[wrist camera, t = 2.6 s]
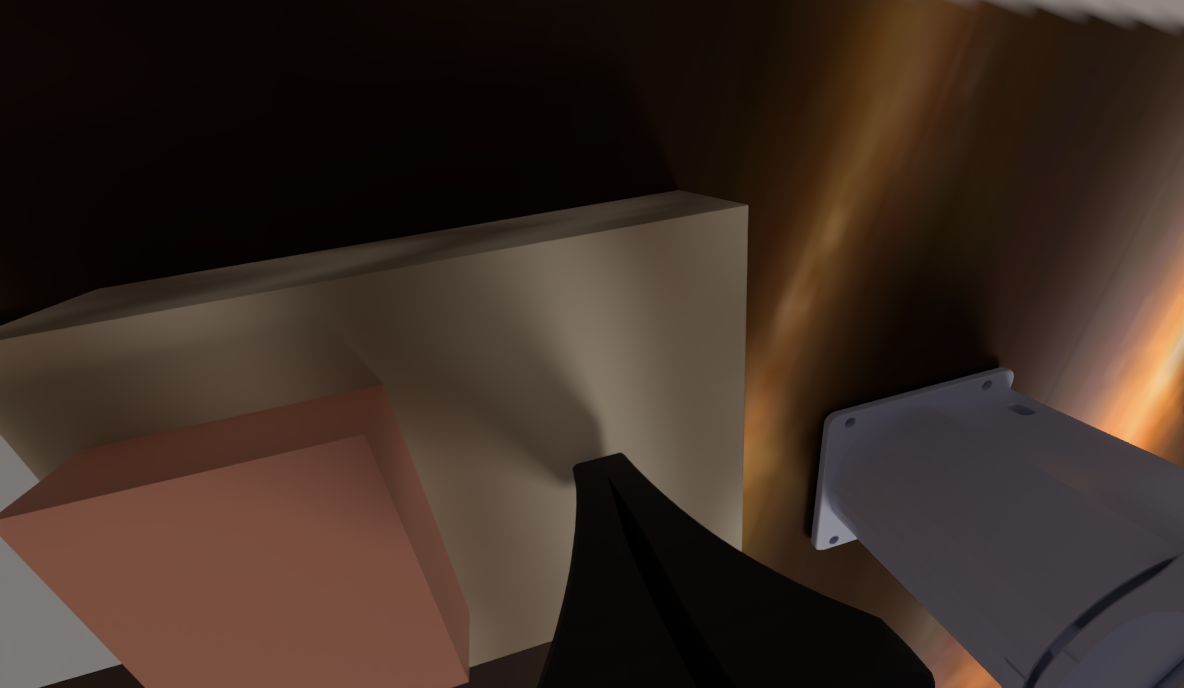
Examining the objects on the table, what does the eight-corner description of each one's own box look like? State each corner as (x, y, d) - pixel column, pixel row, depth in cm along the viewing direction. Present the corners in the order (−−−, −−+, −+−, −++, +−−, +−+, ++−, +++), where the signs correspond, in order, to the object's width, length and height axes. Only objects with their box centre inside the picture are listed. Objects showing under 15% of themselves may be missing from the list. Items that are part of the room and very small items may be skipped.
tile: (383, 383, 10) (364, 434, 8) (469, 611, 14) (469, 681, 12) (80, 450, 9) (-14, 522, 8) (254, 676, 13) (218, 763, 11)
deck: (679, 189, 14) (748, 205, 11) (692, 500, 20) (741, 579, 16) (97, 288, 12) (-70, 352, 8) (300, 613, 17) (255, 736, 14)
